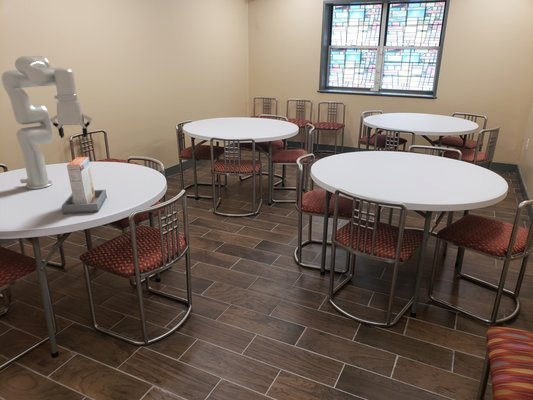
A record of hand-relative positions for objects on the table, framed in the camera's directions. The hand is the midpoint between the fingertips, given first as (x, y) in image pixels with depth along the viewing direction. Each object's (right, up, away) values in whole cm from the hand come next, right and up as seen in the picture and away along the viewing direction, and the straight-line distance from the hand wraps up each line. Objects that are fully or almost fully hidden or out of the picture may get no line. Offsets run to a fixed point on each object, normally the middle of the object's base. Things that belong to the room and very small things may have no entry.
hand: (73, 136), depth 184 cm
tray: (+2, -31, +9) cm, 32 cm away
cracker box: (+1, -30, +9) cm, 32 cm away
